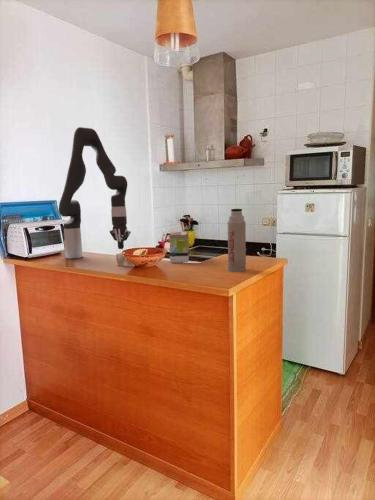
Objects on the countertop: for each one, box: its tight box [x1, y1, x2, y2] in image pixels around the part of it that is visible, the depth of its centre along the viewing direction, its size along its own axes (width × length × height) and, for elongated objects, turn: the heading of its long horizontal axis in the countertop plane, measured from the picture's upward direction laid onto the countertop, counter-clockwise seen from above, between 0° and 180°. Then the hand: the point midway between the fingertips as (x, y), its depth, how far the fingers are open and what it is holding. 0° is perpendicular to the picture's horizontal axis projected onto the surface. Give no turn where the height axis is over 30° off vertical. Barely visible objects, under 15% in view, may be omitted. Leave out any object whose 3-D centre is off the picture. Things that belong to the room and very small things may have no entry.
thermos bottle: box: [227, 208, 247, 273], centre depth 169 cm, size 8×8×28 cm
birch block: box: [115, 252, 135, 267], centre depth 190 cm, size 6×6×12 cm
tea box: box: [168, 231, 190, 264], centre depth 198 cm, size 15×10×15 cm, turn 179°
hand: (120, 248), depth 192 cm, fingers closed
